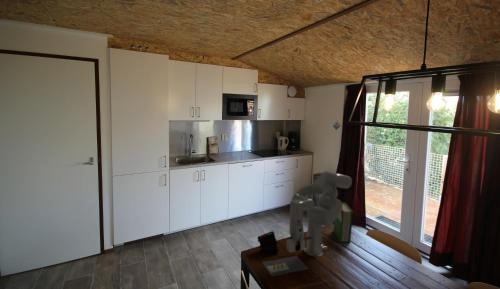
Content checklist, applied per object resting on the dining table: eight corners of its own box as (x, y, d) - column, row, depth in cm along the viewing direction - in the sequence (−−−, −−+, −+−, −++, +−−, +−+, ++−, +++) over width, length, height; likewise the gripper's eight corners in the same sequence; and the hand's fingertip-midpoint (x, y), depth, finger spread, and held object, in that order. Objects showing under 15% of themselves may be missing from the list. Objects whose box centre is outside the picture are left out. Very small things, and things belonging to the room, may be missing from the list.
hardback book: (350, 243, 183) (353, 211, 180) (339, 242, 184) (342, 210, 181) (343, 231, 201) (345, 202, 198) (333, 231, 201) (335, 202, 198)
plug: (309, 243, 162) (309, 235, 161) (313, 247, 158) (313, 238, 157) (286, 248, 157) (286, 239, 156) (290, 252, 152) (290, 243, 152)
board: (296, 257, 163) (296, 250, 162) (308, 270, 150) (309, 263, 149) (261, 264, 155) (262, 256, 154) (271, 278, 142) (271, 270, 141)
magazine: (282, 253, 164) (273, 233, 163) (263, 260, 166) (254, 240, 164) (282, 250, 168) (273, 230, 166) (263, 257, 169) (254, 237, 168)
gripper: (309, 225, 146) (308, 254, 149) (294, 213, 162) (294, 240, 165) (297, 227, 144) (297, 257, 147) (284, 215, 160) (283, 242, 163)
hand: (295, 247), depth 156 cm, fingers closed on plug, 4 cm apart
